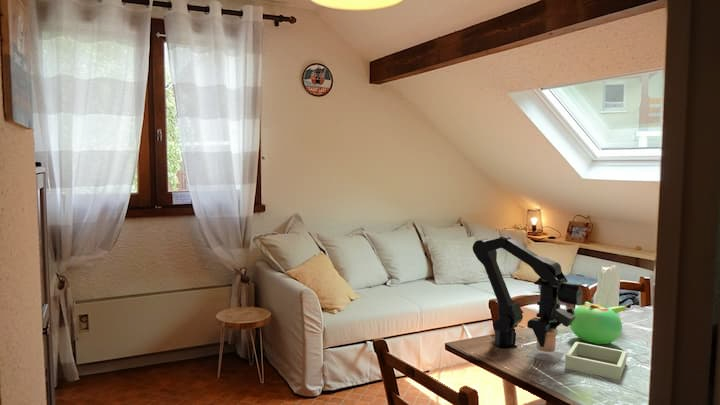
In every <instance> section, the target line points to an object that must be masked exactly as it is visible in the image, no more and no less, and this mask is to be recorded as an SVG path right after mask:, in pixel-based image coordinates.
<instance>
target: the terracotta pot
mask: <svg viewBox="0 0 720 405" xmlns="http://www.w3.org/2000/svg"><path fill="white" fill-rule="evenodd" d="M549 329H551V330H550V331H548V332H547V334H546V339H545V344H544V347H541V346H540V345H539V342H538V340H537V339H536V345H535V348H537V349H538V350H541V351H545V352H553V351H555V352H556V341H557V340H556V339H557V338H556V337H557V335H558V329H557V328H553V327H549Z"/></svg>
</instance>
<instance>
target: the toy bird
mask: <svg viewBox="0 0 720 405" xmlns="http://www.w3.org/2000/svg"><path fill="white" fill-rule="evenodd" d="M627 308H628V307H627V306H624V305H620V306H618V307H605V306H601V305H596V304H593V303H591V302H589V301H585V302H584V304H580V305H578V306H577V307H576V308H573V309H574V315H575V319H574V320H573V322H572V324H571V325H569V327H570V330H571V331H572V332H573V334H574V335H575V336H577V338H579V339H580V340H582V341H584V342H587V343H589V344H593V345H607V344H611V343H613V342H615V341H616V340H617V339H619V337H620V336H621V334H622V331H623V324H622V320H621V317H620V318H619V316H618V315H617V314H616V313H618V312H619V313H620V312H622V311H625V310H626V309H627Z"/></svg>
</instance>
